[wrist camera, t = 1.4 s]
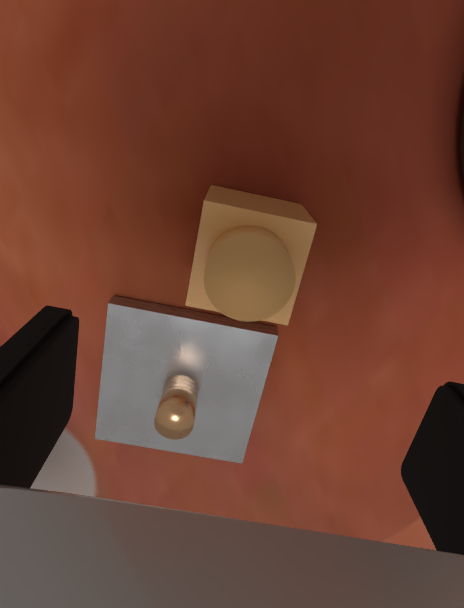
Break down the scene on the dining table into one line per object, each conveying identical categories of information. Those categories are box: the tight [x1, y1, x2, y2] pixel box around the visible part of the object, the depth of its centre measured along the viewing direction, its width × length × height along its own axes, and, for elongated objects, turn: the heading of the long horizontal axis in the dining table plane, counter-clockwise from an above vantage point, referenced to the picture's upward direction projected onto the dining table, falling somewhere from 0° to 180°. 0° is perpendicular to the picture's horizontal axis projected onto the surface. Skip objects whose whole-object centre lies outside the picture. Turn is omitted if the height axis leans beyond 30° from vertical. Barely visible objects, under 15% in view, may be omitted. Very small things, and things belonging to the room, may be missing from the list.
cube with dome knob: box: [185, 185, 317, 325], centre depth 20 cm, size 5×5×7 cm
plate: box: [95, 295, 278, 463], centre depth 25 cm, size 10×10×4 cm
